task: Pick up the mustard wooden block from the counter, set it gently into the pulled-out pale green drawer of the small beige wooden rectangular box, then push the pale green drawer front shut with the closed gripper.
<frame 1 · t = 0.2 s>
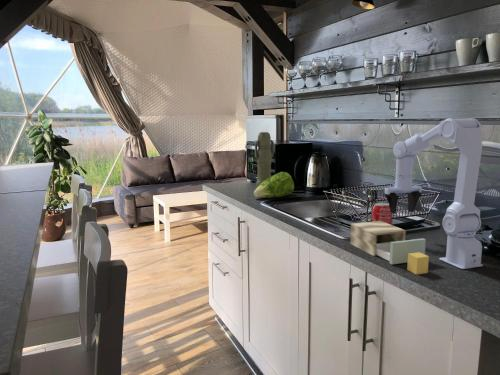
hand: (402, 212, 157), 10 cm above the countertop, fingers open, 7 cm apart
thermos: (264, 191, 257), on the countertop
block: (417, 271, 126), on the countertop
pale green drawer: (394, 245, 139), point 4 cm above the countertop, slide at 8.0 cm
soda can: (381, 235, 164), on the countertop
beige wooden rectangular box: (376, 247, 148), on the countertop
lettuce: (272, 197, 239), on the countertop
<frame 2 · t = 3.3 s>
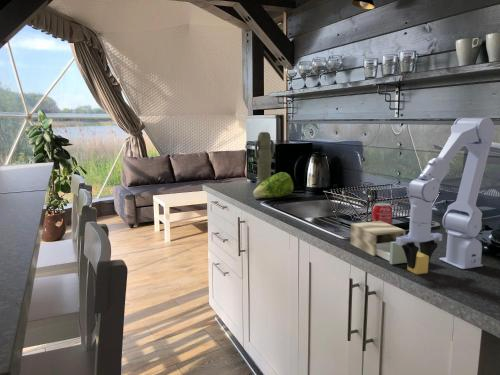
hand: (417, 266, 126), 1 cm above the countertop, fingers closed on block, 4 cm apart
block: (417, 271, 126), on the countertop, touching gripper
when the fingers open (4 cm above the countertop, at t = 6.5 s): block drops 1 cm, resting on pale green drawer.
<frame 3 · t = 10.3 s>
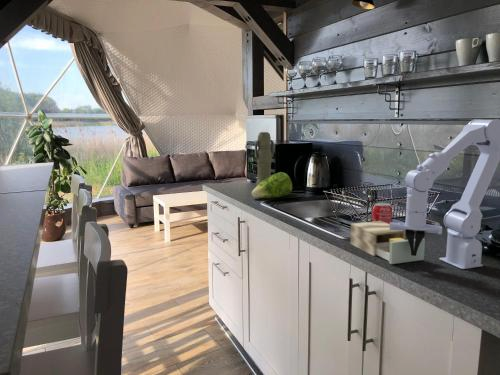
hand: (413, 254, 130), 3 cm above the countertop, fingers closed
block: (397, 255, 137), point 1 cm above the countertop, touching pale green drawer
pale green drawer: (393, 245, 139), point 4 cm above the countertop, slide at 7.7 cm, touching block, gripper
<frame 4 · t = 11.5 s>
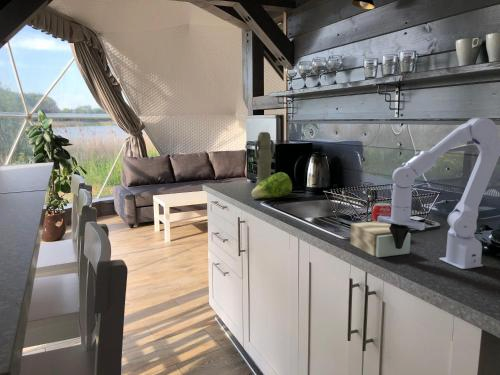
hand: (398, 248, 137), 3 cm above the countertop, fingers closed
block: (384, 248, 144), point 1 cm above the countertop, touching pale green drawer
pale green drawer: (381, 239, 145), point 4 cm above the countertop, slide at 1.0 cm, touching block, gripper
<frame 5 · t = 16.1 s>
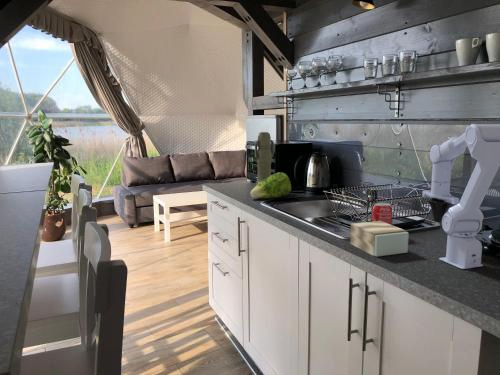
hand: (438, 221, 146), 9 cm above the countertop, fingers closed
pale green drawer: (379, 238, 146), point 4 cm above the countertop, slide at 0.0 cm, touching block
at the end: pale green drawer slide at 0.0 cm; block inside the target area on the beige wooden rectangular box (3.5 cm from its centre), point 1.0 cm above the beige wooden rectangular box's base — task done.
